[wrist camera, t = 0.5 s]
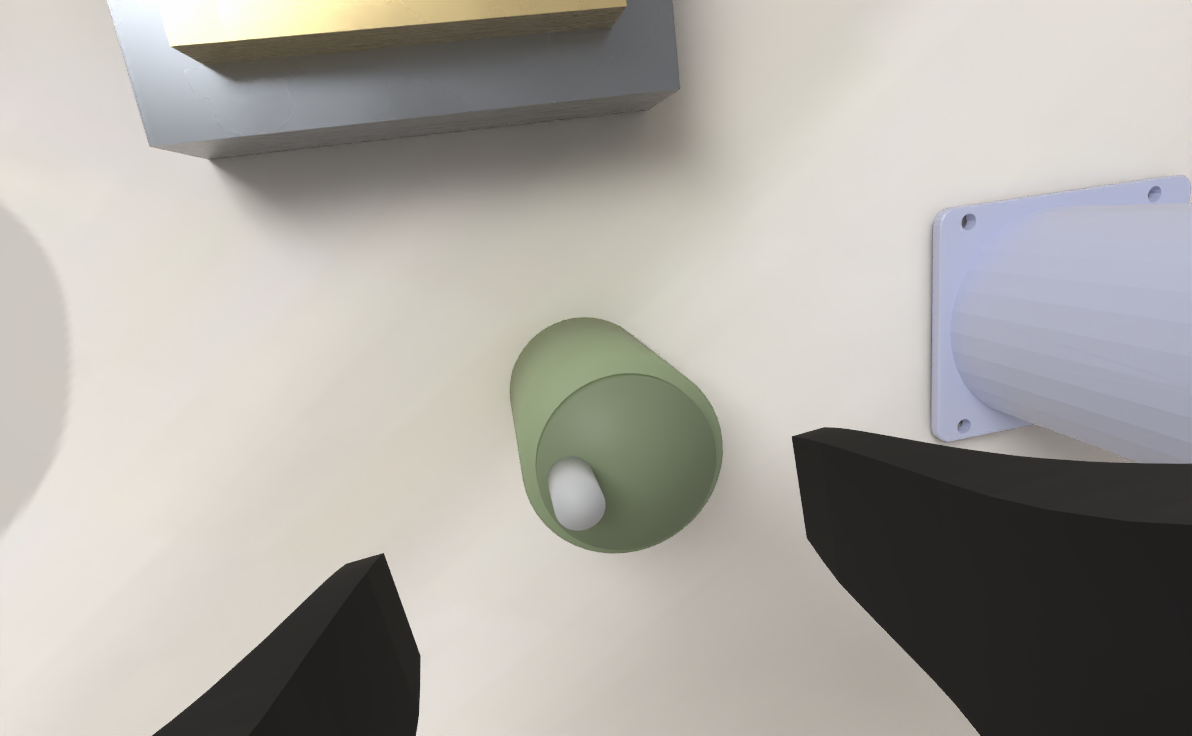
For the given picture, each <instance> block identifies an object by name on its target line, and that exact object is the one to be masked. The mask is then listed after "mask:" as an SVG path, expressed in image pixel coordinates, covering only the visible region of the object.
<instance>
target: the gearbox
mask: <svg viewBox="0 0 1192 736" xmlns="http://www.w3.org/2000/svg"><path fill="white" fill-rule="evenodd" d="M107 2H108V6H109V9H110V13H111V16H112V19H113V23H114V26H115V30H116V33H117V37H118V40H119V43H120V47H121V50H122V54H123V57H124V60H125V64H126V67H127V71H128V74H129V78H130V81H131V84H132V88H133V91H134V95H135V98H136V101H137V105H138V108H139V112H140V115H141V119H142V122H143V125H144V129H145V132H146V136H147V139H148V142H149V146H150V147H154V148H159V149H163V150H168V151H173V152H177V153H182V154H186V155H191V156H196V157H200V158H205V159H214V158H222V157H231V156H240V155H249V154H258V153H267V152H276V151H285V150H294V149H303V148H312V147H320V146H329V145H338V144H347V143H356V142H365V141H374V140H383V139H392V138H401V137H409V136H418V135H427V134H436V133H445V132H454V131H463V130H472V129H481V128H490V127H498V126H507V125H516V124H525V123H534V122H543V121H552V120H561V119H570V118H579V117H587V116H596V115H605V114H614V113H623V112H632V111H641V110H649V109H650V108H652V107H653V106H655V105H656V104H658V103H659V102H661V101H662V100H664V99H665V98H667V97H668V96H670V95H672V94H673V93H675V92H676V91H678V90H679V89H680V84H679V73H678V61H677V50H676V38H675V27H674V16H673V4H672V0H107Z"/></svg>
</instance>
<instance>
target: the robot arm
mask: <svg viewBox="0 0 1192 736" xmlns="http://www.w3.org/2000/svg"><path fill="white" fill-rule="evenodd" d="M1148 193H1149V197H1148ZM1190 194H1191V183H1190V181H1189V179H1188V178H1187V177H1186V176H1183V175H1176V176H1166V177H1159V178H1152V179H1145V180H1138V181H1131V182H1124V183H1118V184H1111V185H1104V186H1097V187H1090V188H1083V189H1076V190H1069V191H1062V192H1056V193H1049V194H1042V195H1035V196H1028V197H1021V198H1014V199H1007V200H1000V201H994V202H987V203H980V204H973V205H966V206H959V207H952V208H947V209H944V210H942V211H940V212H939V213H938V214H937V216H936V218H935V219H934V224H933V303H932V419H931V429H932V433H933V435H934V436H935V437H936V438H939V439H941V440H943V441H945V442H951V441H956V440H961V439H966V438H971V437H976V436H981V435H986V434H990V433H995V432H1000V431H1005V430H1010V429H1015V428H1020V427H1025V426H1030V425H1038V426H1040V427H1043V428H1046V429H1048V430H1051V431H1054V432H1057V433H1059V434H1062V435H1065V436H1067V437H1070V438H1073V439H1075V440H1078V441H1081V442H1084V443H1086V444H1089V445H1092V446H1094V447H1097V448H1100V449H1102V450H1105V451H1108V452H1110V453H1113V454H1116V455H1119V456H1121V457H1124V458H1127V459H1129V460H1132V461H1135V462H1137V463H1109V462H1086V461H1072V460H1058V459H1045V458H1032V457H1023V456H1013V455H1005V454H998V453H990V452H983V451H975V450H968V449H961V448H955V447H949V446H943V445H937V444H931V443H925V442H919V441H914V440H908V439H903V438H897V437H892V436H886V435H880V434H875V433H869V432H863V431H857V430H850V429H842V428H827V427H824V428H820V429H817V430H813V431H810V432H806V433H803V434H799V435H796V436H792V441H793V448H794V455H795V461H796V468H797V475H798V481H799V488H800V495H801V502H802V508H803V515H804V522H805V528H806V535H807V539H808V540H809V542H810V543H811V545H812V546H813V547H814V549H815V550H816V552H817V553H818V555H819V556H820V557H821V559H822V560H823V562H824V563H825V564H826V566H827V567H828V568H829V570H830V571H831V572H832V574H833V575H834V576H835V578H836V579H837V580H838V582H839V583H840V584H841V585H842V586H843V587H844V588H845V589H846V590H847V591H848V593H849V594H850V595H851V596H852V597H853V598H854V599H855V600H856V601H857V602H858V603H859V604H860V605H861V606H862V607H863V608H864V609H865V610H866V611H867V612H868V613H869V614H870V616H871V617H872V618H873V619H874V620H875V621H876V622H877V623H878V624H879V625H880V626H881V627H882V628H883V629H884V630H885V631H886V632H887V633H888V634H889V635H890V636H891V637H892V638H893V639H894V640H895V641H896V642H897V643H898V644H899V645H900V646H901V647H902V648H903V649H904V650H905V651H906V652H907V654H908V655H909V656H910V657H911V658H912V659H913V660H914V661H915V662H916V663H917V664H918V665H919V666H920V667H921V668H922V669H923V670H924V671H925V672H926V673H927V674H928V675H929V676H930V677H931V678H932V679H933V680H934V681H935V682H936V683H937V685H938V686H939V687H940V688H941V689H942V690H943V691H944V692H945V693H946V695H947V696H948V697H949V698H950V699H951V700H952V701H953V702H954V703H955V705H956V706H957V707H958V708H959V709H960V711H961V712H962V713H963V714H964V716H965V717H966V718H967V719H968V721H969V722H970V723H971V724H972V726H973V727H974V728H975V729H976V731H977V732H978V733H979V734H980V736H1192V203H1190ZM964 216H966V218H967V223H966V226H965V227H964V228H962V224H961V222H962V218H963V217H964ZM961 420H962V421H963V422H962V425H961V426H960V428H958V429H957V427H958V424H959V422H960V421H961ZM419 699H420V654H419V651H418V648H417V645H416V642H415V640H414V637H413V634H412V631H411V628H410V626H409V623H408V620H407V617H406V614H405V611H404V609H403V606H402V603H401V600H400V597H399V595H398V592H397V589H396V586H395V583H394V581H393V578H392V575H391V572H390V569H389V567H388V564H387V561H386V558H385V555H384V553H382V554H379V555H375V556H372V557H368V558H365V559H361V560H358V561H354V562H351V563H347V564H346V565H344V566H343V567H341V568H340V569H339V570H338V571H336V572H335V573H334V574H333V575H332V576H331V577H329V578H328V579H327V580H326V581H325V582H324V583H323V584H322V585H321V586H320V587H319V588H318V589H316V590H315V591H314V592H313V593H312V594H311V595H310V596H309V597H308V598H307V599H306V600H305V601H304V602H303V603H302V604H301V605H300V606H299V607H298V608H297V609H296V610H295V611H294V612H293V613H292V614H290V615H289V616H288V617H287V618H286V619H285V620H284V621H283V622H282V623H281V624H280V625H279V626H278V627H277V628H276V629H275V630H274V631H273V632H272V633H271V634H270V635H269V636H268V637H267V638H266V639H264V640H263V641H262V642H261V643H260V644H259V645H258V646H257V647H256V648H255V649H254V650H252V651H251V652H250V653H249V654H248V655H247V656H246V657H245V658H244V659H242V660H241V661H240V662H239V663H238V664H237V665H236V666H235V667H234V668H232V669H231V670H230V671H229V672H228V673H227V674H226V675H225V676H224V677H222V678H221V679H220V680H219V681H218V682H217V683H216V684H215V685H213V686H212V687H211V688H210V689H209V690H208V691H207V692H206V693H204V694H203V695H202V696H201V697H200V698H198V699H197V700H196V701H195V702H194V703H193V704H191V705H190V706H189V707H188V708H186V709H185V710H184V711H183V712H182V713H180V714H179V715H178V716H177V717H175V718H174V719H173V720H172V721H170V722H169V723H168V724H167V725H165V726H164V727H163V728H161V729H160V730H159V731H157V732H156V733H155V734H154V735H152V736H416V731H417V724H418V717H419Z"/></svg>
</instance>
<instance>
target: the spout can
mask: <svg viewBox="0 0 1192 736" xmlns="http://www.w3.org/2000/svg"><path fill="white" fill-rule="evenodd" d="M510 401H511V408H512V414H513V420H514V426H515V433H516V439H517V445H518V452H519V458H520V464H521V471H522V477H523V482H524V486H525V490H526V493H527V496H528V498H529V501H530V503H531V505H532V507H533V508H534V510H535V512H536V514H537V515H538V516H539V517H540V519H541V520H542V521H543V523H544V524H545V525H546V526H547V527H548V528H549V529H551V530H552V531H553V532H554V533H555V534H557V535H558V536H559V537H561V538H562V539H564V540H566V541H567V542H569V543H571V544H573V545H575V546H578V547H581V548H584V549H587V550H591V551H596V552H602V553H626V552H633V551H638V550H642V549H645V548H649V547H651V546H654V545H656V544H659V543H661V542H663V541H665V540H667V539H668V538H670V537H672V536H673V535H675V534H676V533H678V532H679V531H680V530H682V529H683V528H684V527H685V526H686V525H688V524H689V523H690V522H691V521H692V520H693V519H694V518H695V517H696V515H697V514H698V513H699V512H700V511H701V510H702V508H703V507H704V505H705V504H706V502H707V501H708V499H709V497H710V495H711V494H712V492H713V490H714V487H715V485H716V482H717V480H718V476H719V472H720V468H721V463H722V454H723V448H722V435H721V429H720V425H719V422H718V419H717V416H716V414H715V412H714V409H713V407H712V405H711V404H710V402H709V401H708V399H707V398H706V396H705V395H704V394H703V393H702V391H701V390H700V389H699V388H698V387H697V386H696V385H695V384H694V383H693V382H692V381H690V380H689V379H688V378H687V377H686V376H684V375H683V374H682V373H680V372H679V371H678V370H676V369H675V368H674V367H673V366H671V365H670V364H669V363H667V362H666V361H665V360H664V359H662V358H661V357H660V356H658V355H657V354H656V353H655V352H653V351H652V350H651V349H649V348H648V347H647V346H645V345H644V344H643V343H642V342H640V341H639V340H638V339H636V338H635V337H634V336H633V335H631V334H630V333H629V332H627V331H626V330H624V329H623V328H621V327H620V326H618V325H616V324H613V323H611V322H608V321H605V320H602V319H596V318H573V319H568V320H564V321H561V322H558V323H556V324H553V325H551V326H550V327H548V328H546V329H544V330H543V331H541V332H540V333H539V334H537V335H536V336H535V337H534V338H533V339H532V340H531V341H530V342H529V343H528V344H527V345H526V346H525V348H524V349H523V351H522V352H521V354H520V355H519V357H518V359H517V361H516V363H515V366H514V369H513V372H512V376H511V381H510Z"/></svg>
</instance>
